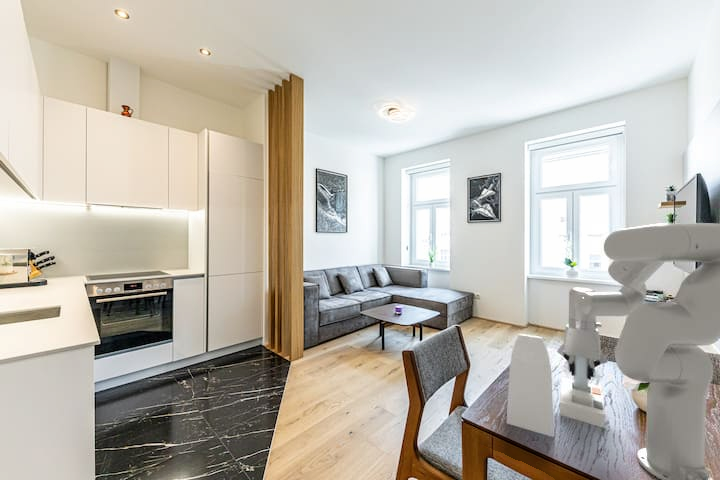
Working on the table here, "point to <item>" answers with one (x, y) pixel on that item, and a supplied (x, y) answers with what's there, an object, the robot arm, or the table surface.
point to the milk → (530, 386)
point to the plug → (581, 372)
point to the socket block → (582, 403)
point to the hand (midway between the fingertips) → (580, 375)
